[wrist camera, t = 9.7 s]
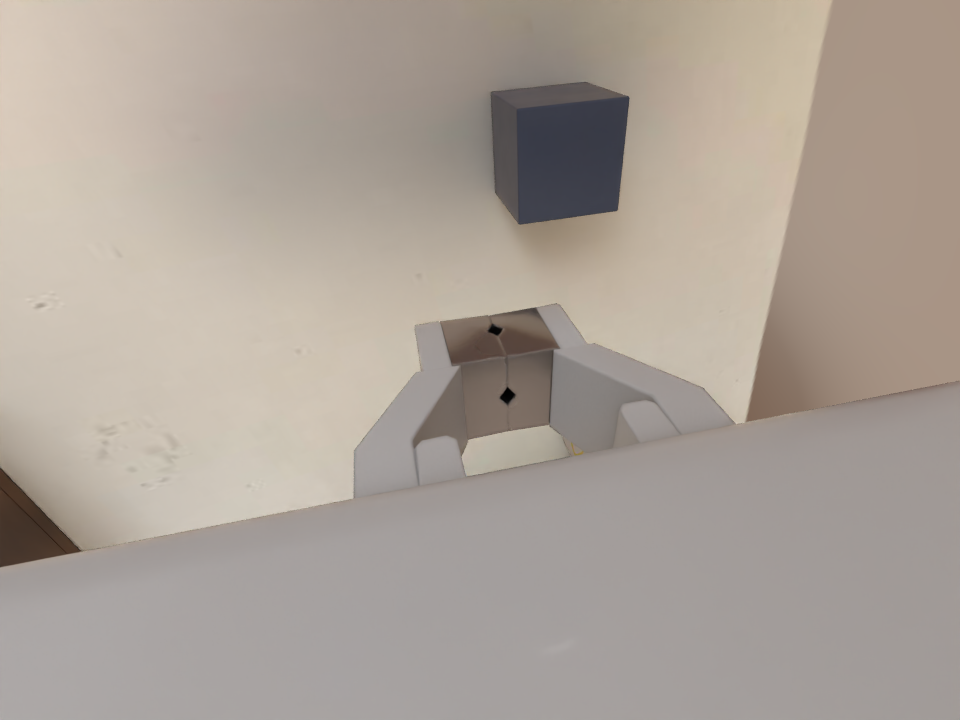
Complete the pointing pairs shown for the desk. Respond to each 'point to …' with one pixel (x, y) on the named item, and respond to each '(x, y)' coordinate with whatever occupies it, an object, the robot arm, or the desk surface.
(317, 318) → the desk surface
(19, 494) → the cabinet
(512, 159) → the block
